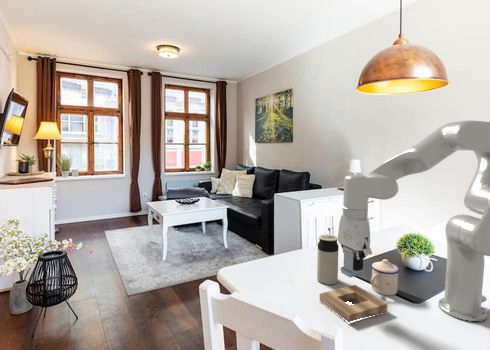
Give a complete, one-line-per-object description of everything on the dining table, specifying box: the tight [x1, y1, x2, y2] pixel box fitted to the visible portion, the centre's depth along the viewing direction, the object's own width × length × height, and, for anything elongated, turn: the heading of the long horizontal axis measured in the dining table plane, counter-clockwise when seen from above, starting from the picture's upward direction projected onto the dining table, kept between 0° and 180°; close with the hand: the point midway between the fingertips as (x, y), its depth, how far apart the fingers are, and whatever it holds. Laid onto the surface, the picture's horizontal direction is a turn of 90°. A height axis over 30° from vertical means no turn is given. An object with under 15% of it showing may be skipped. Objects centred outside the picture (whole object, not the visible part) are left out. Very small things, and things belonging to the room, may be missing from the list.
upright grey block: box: [340, 246, 365, 278], centre depth 95 cm, size 6×4×9 cm, turn 113°
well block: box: [319, 284, 388, 322], centre depth 96 cm, size 16×14×3 cm
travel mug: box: [316, 233, 339, 285], centre depth 115 cm, size 8×8×18 cm
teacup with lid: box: [370, 258, 400, 296], centre depth 106 cm, size 12×9×12 cm
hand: (353, 266), depth 95 cm, fingers closed on upright grey block, 4 cm apart
